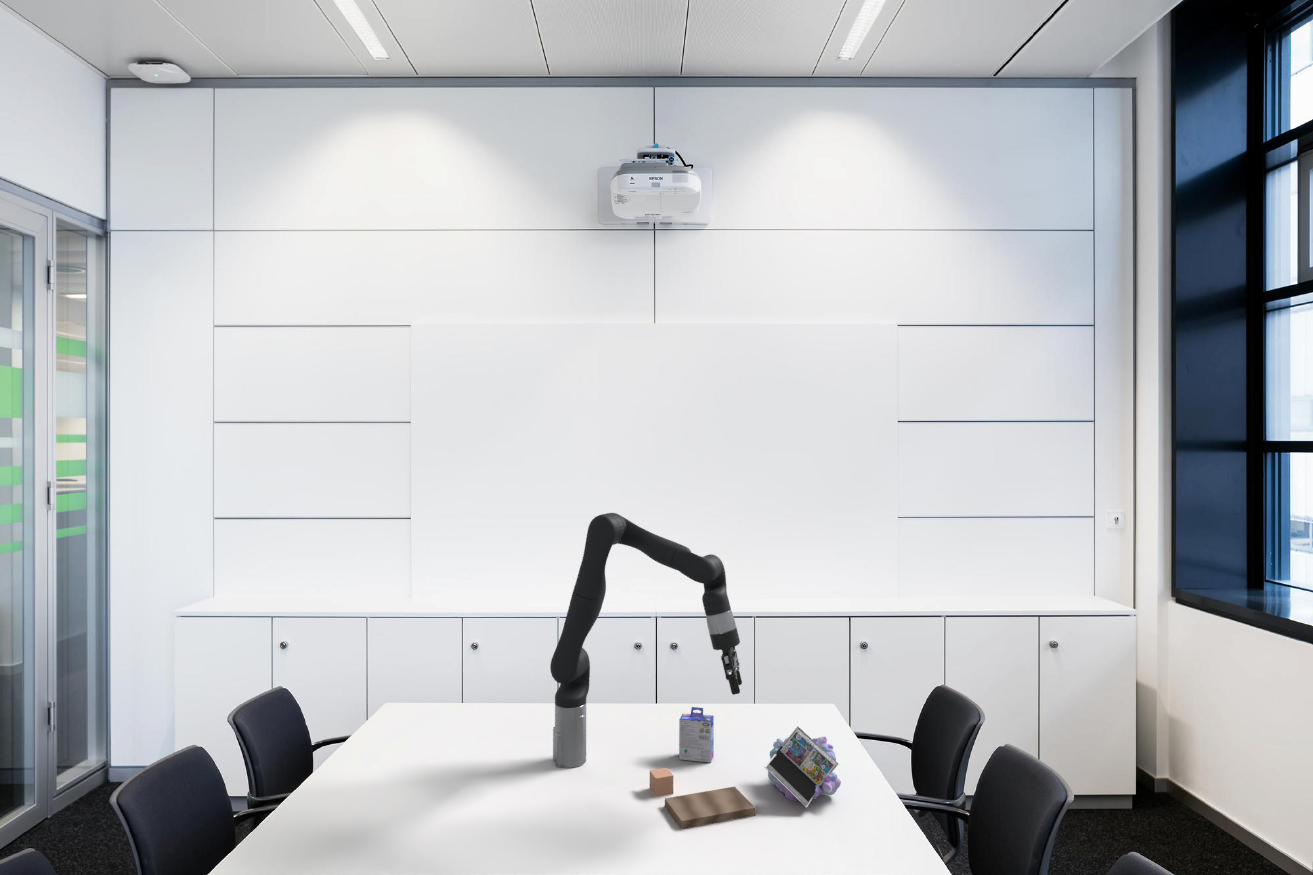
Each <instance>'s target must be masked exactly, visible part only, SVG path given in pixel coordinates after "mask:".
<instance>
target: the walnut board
mask: <svg viewBox="0 0 1313 875" xmlns="http://www.w3.org/2000/svg"><path fill="white" fill-rule="evenodd" d="M664 807H665V809H666V810H667V811H668V813H669V814H670V816H671V817H672V818H673V819H674V821H675V822H676V824H677V825H678V826H679V828H680V829H681V830H684V829H691V828H695V827H701V826H706V825H707V826H708V825H711V824H717V823H722V822H727V821H734V820H738V819H745V818H750V817H755V816H756V807H755V806H754V805H753V804H752V803H751V801H749V800H748V799H747V797H746V796H745V795H744V794H743V793H742V792H741V791H740V790H739V789H738V788H737V787H736V786H728V787H723V788H719V789H718V788H717V789H712V790H706V791H700V792H694V793H688V794H684V795H676V796H670V797H667V798H666V797H665V798H664Z"/></svg>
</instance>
